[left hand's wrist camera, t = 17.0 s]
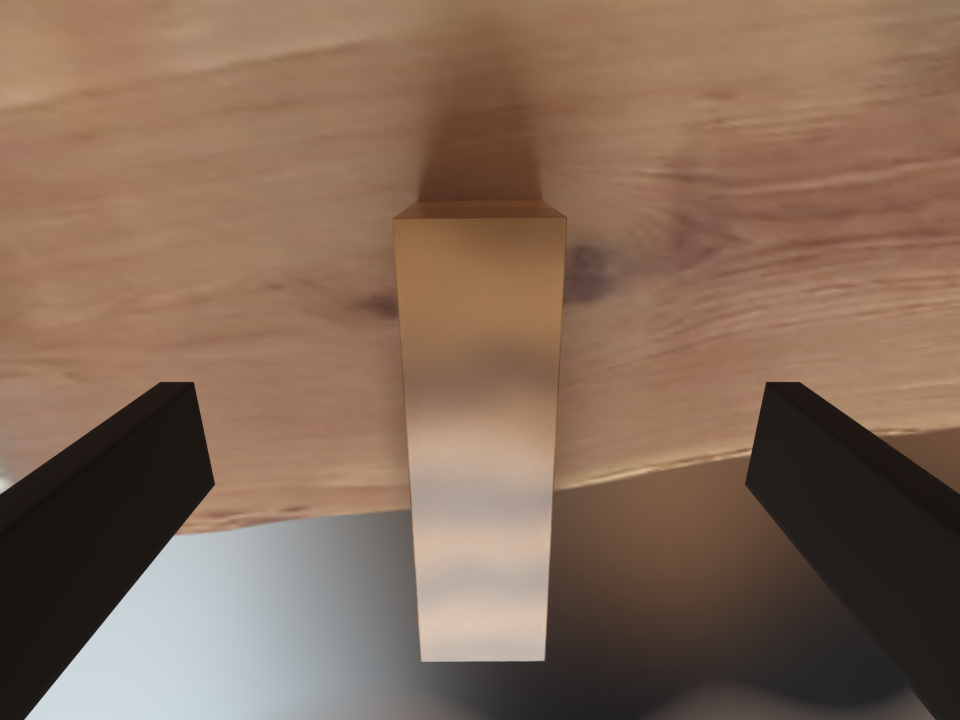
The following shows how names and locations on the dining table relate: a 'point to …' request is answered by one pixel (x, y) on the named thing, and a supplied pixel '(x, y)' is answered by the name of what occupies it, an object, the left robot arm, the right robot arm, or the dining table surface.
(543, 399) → the box
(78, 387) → the dining table surface
